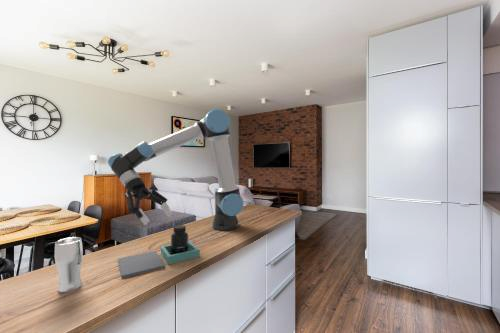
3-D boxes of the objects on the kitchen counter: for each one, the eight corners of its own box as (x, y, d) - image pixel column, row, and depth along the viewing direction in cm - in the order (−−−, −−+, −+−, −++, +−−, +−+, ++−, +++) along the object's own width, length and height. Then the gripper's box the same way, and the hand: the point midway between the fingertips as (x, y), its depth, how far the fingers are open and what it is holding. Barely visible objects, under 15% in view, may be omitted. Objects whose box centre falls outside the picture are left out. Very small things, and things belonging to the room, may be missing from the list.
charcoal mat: (155, 253, 101) (155, 250, 101) (164, 267, 87) (164, 265, 87) (117, 261, 93) (117, 258, 93) (121, 278, 80) (121, 275, 80)
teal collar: (189, 247, 107) (189, 240, 107) (199, 256, 97) (199, 249, 97) (160, 253, 100) (160, 246, 100) (168, 264, 90) (168, 256, 90)
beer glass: (53, 296, 70) (51, 246, 69) (59, 284, 76) (57, 238, 76) (82, 289, 73) (80, 242, 73) (85, 279, 79) (83, 235, 79)
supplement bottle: (179, 260, 94) (178, 230, 93) (167, 256, 97) (166, 227, 97) (191, 254, 100) (191, 225, 99) (180, 250, 103) (180, 223, 103)
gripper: (149, 184, 119) (174, 217, 114) (102, 192, 96) (130, 233, 91) (157, 174, 117) (183, 207, 112) (111, 179, 94) (140, 220, 89)
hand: (159, 219), depth 101 cm, fingers open, 13 cm apart
